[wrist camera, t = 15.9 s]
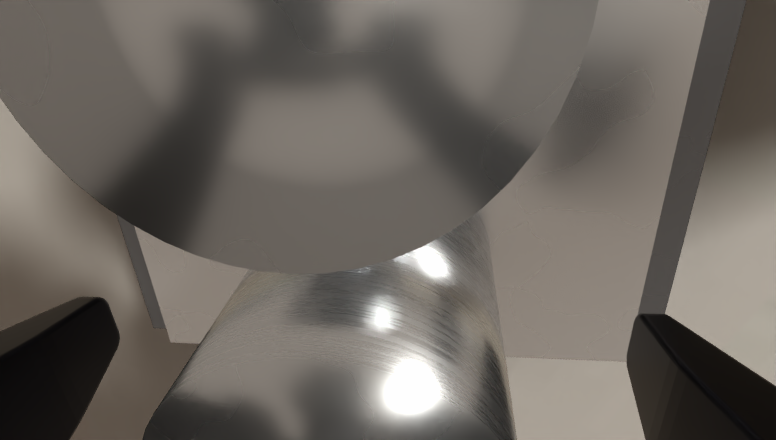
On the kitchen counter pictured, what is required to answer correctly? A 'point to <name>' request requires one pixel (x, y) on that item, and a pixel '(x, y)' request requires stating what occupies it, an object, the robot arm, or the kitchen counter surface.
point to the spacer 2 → (353, 354)
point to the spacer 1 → (291, 115)
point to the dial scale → (560, 193)
